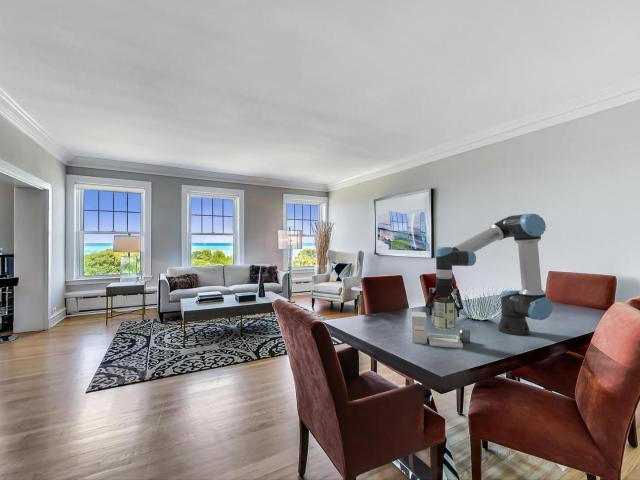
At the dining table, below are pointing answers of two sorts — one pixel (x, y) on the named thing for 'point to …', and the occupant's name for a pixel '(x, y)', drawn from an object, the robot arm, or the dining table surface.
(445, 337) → the tray
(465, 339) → the cartridge
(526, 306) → the robot arm
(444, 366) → the dining table surface
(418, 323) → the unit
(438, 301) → the coffee can
